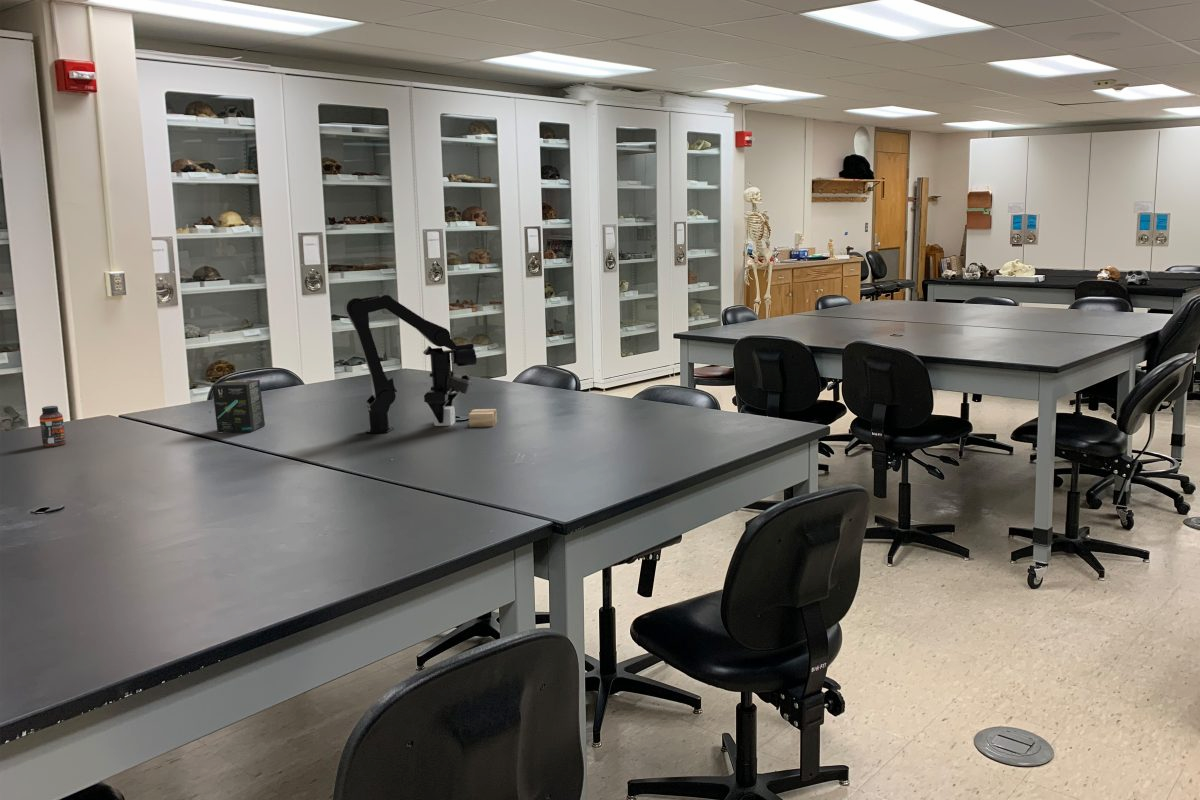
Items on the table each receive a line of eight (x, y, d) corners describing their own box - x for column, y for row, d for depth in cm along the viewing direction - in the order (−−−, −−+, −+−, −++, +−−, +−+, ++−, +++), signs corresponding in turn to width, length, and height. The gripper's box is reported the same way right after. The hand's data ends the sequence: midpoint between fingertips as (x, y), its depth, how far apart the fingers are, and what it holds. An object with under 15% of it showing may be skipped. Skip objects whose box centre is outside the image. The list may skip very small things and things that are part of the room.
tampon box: (265, 426, 296) (260, 378, 294) (252, 432, 287) (246, 384, 285) (231, 426, 298) (226, 379, 295) (216, 433, 289) (211, 384, 286)
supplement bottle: (56, 447, 277) (50, 408, 275) (38, 447, 278) (32, 408, 276) (71, 442, 283) (65, 404, 281) (53, 442, 284) (48, 404, 282)
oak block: (493, 426, 283) (492, 413, 282) (469, 427, 283) (468, 414, 283) (497, 422, 290) (496, 408, 289) (474, 422, 290) (473, 409, 290)
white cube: (450, 425, 286) (449, 409, 285) (434, 426, 287) (433, 409, 286) (455, 422, 291) (454, 406, 290) (439, 422, 292) (438, 406, 291)
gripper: (459, 373, 276) (463, 426, 279) (475, 363, 294) (478, 413, 297) (421, 373, 277) (425, 427, 280) (439, 364, 296) (443, 414, 298)
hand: (444, 420), depth 289 cm, fingers open, 8 cm apart
